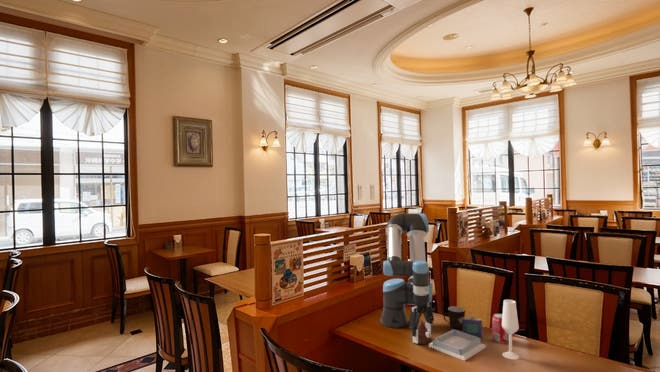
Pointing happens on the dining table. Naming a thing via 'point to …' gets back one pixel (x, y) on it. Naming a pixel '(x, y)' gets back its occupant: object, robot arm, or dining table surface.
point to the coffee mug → (455, 317)
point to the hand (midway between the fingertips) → (422, 339)
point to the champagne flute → (510, 325)
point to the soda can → (498, 329)
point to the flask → (472, 326)
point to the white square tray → (458, 344)
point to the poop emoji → (423, 333)
